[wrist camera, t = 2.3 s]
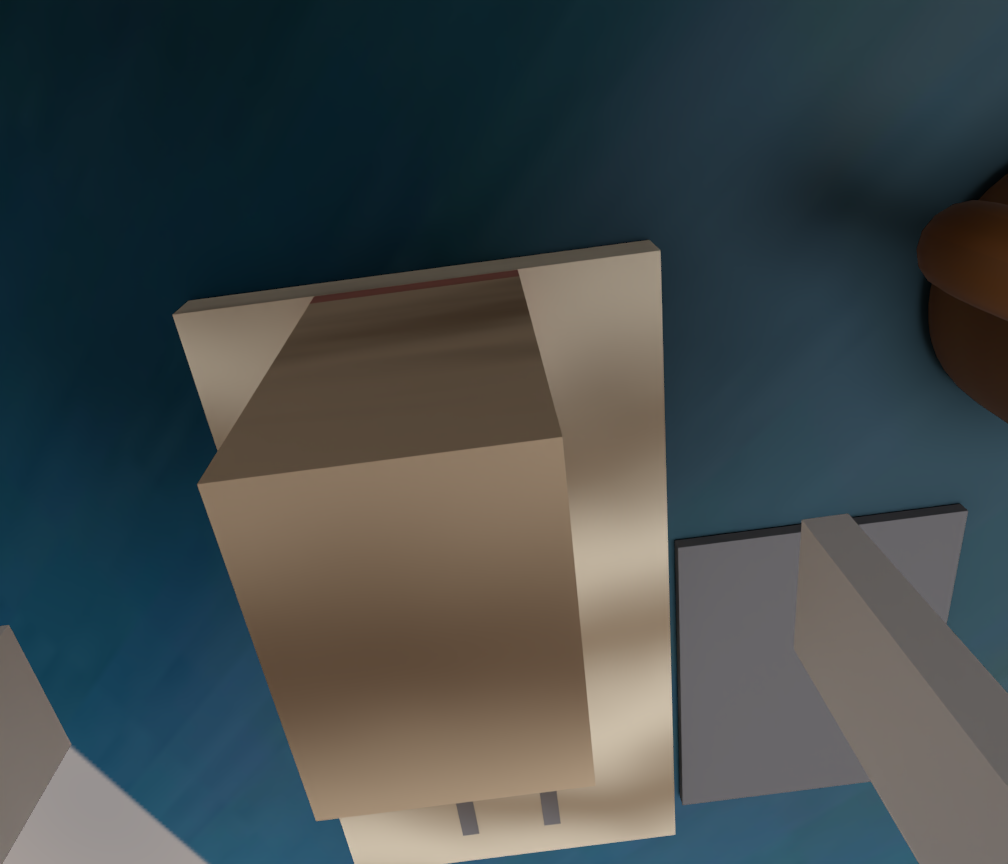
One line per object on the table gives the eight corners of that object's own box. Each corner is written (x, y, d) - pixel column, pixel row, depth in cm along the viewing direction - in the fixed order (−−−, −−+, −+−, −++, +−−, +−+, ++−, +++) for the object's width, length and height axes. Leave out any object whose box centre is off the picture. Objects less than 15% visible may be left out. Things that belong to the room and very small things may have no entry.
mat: (674, 540, 24) (677, 548, 23) (960, 503, 23) (968, 510, 23) (679, 795, 29) (682, 804, 29) (912, 766, 29) (918, 775, 28)
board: (188, 300, 19) (172, 315, 18) (649, 239, 19) (660, 250, 18) (362, 844, 29) (358, 875, 28) (667, 806, 29) (675, 835, 28)
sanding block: (314, 296, 18) (197, 484, 10) (517, 269, 18) (563, 437, 10) (371, 534, 21) (316, 820, 13) (545, 511, 21) (596, 785, 13)
